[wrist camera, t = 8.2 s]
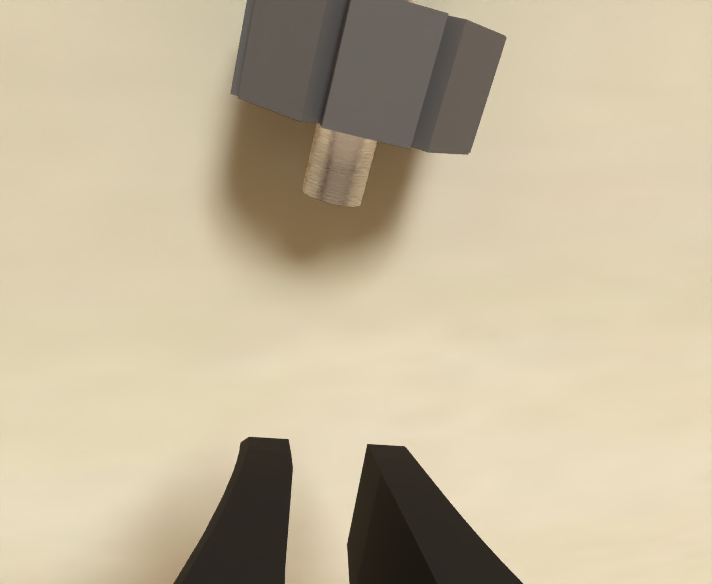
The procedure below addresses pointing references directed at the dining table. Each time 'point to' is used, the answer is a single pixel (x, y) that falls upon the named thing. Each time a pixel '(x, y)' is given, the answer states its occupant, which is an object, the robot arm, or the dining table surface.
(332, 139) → the chassis
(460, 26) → the grey octagonal nut
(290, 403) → the dining table surface
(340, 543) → the dining table surface
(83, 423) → the dining table surface
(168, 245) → the dining table surface
